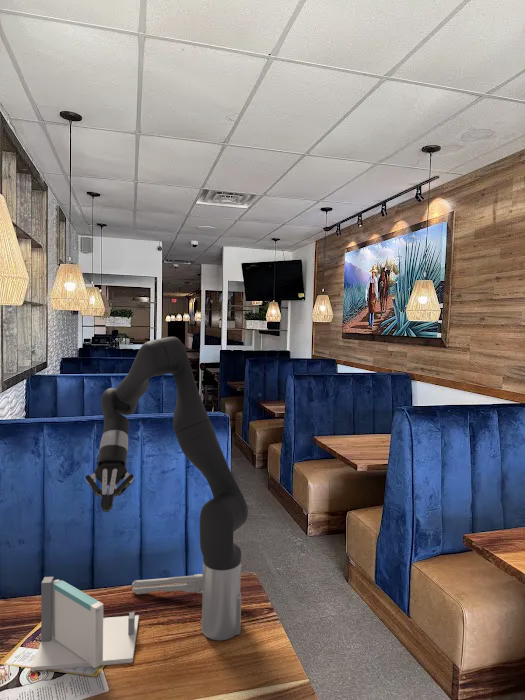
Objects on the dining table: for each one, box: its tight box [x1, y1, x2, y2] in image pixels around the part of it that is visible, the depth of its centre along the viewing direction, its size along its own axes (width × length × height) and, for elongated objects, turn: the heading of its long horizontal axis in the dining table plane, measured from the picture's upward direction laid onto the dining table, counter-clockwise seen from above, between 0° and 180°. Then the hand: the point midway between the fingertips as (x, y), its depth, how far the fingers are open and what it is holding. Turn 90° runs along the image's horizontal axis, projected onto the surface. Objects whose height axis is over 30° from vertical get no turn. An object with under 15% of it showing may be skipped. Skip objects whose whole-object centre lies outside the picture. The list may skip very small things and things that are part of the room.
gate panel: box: [53, 579, 104, 669], centre depth 104 cm, size 16×2×13 cm, turn 56°
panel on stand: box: [29, 576, 140, 672], centre depth 108 cm, size 21×15×15 cm
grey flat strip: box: [131, 573, 242, 595], centre depth 127 cm, size 2×30×8 cm, turn 84°
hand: (106, 510), depth 120 cm, fingers closed
